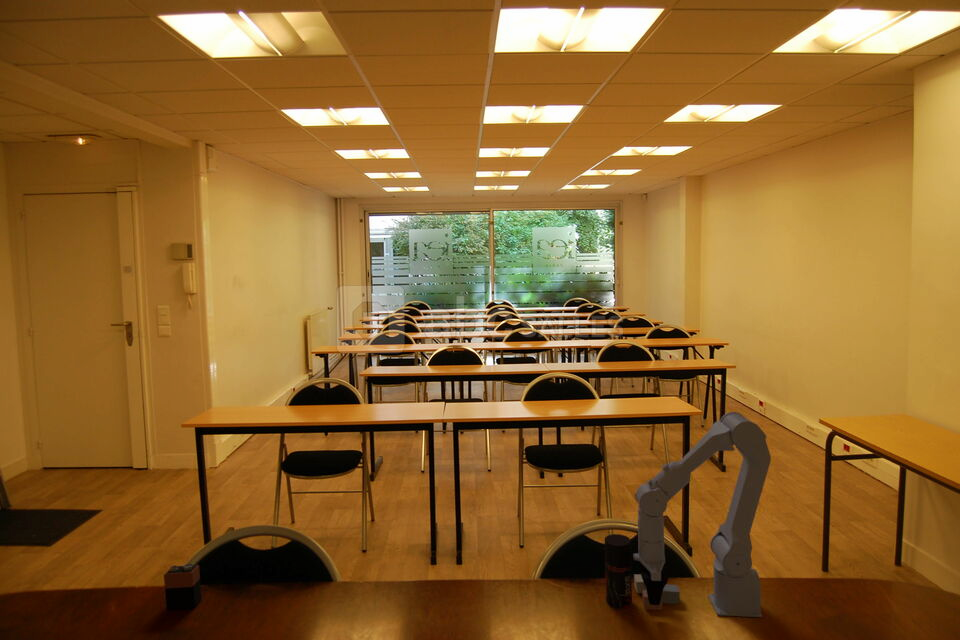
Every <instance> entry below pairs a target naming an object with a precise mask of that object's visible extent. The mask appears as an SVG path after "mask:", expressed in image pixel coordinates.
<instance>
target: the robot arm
mask: <svg viewBox="0 0 960 640" xmlns="http://www.w3.org/2000/svg"><path fill="white" fill-rule="evenodd" d="M767 443H768V442H767V434H766V433H765V432H764V431H763V430H762V429H761V428H760V426H759V425H758V424H756V423H755V422H753V421H751V420H750V419H748V418H746V417H745V416H744V415H743V414H742V413H740V412H736V411H731V412H727V413H725V414H723V416H721V418H720V420H719V419H717V421H715V422H713V424H712V425H711V427H710V428H709V430H708V431H707V433H705V434H704V435H703V437H702V438H701V439H699V441H698V442H697V443H696V444H694V446H693V447H692V448H691V449H690V450H689V451H688V452H687V453H685V455H684V456H683V457H682V458H681V459H680V460H679V461H670V462H669V463H668V464H667V463H664V464H663V465H662V466H661V470H660V471H659V472H658V473H657V474H655V476H654V477H653V478H652V479H650V478H649V479H648V480H647V481H646V483H642V484H641V485H639V486H638V488H637V489H636V492H635V493H634V498H635V501H636V502H637V504H638V505H637V506H638V507H637V508H638V509H637V514H638V515H637V544H638V545H637V546H638V547H637V548H638V549H637V550H638V552H637V553H633V554H632V558H633V560H634V561H637V562H638V563H639V566H640V568H641V573H640V574H641V577H642V579H643V582H644V584H645V586H646V589H647V595H648V600H649V603H650V605H659V604H660V601H661V596H662V592H663V589H664V587H665V585H668V582H669V577H668V575H667V574H666V575H664V574H662V570H663V567H664V565H665V564H666V556H665V520H664V513H666V510H667V506H668V503H669V501H670V500H671V499H672V498H674V496H676V495H677V494H678V493H679V492H681V490H682V489H684V488H685V487H686V486H687V485H688V484H689V483H690V482H691V475H692V473H693V472H695V470H697V469H698V468H700V466H702V465H703V464H704V463H706V461H708V459H710V458H712V457H713V456H714V455H715V454H717V452H726V451H727V452H733V451H735V448H736V449H737V451H738V452H739V454H740V455H741V456H742V461H741V464H740V465H741V466H740V469H739V472H738V477H737V479H736V483H735V486H734V489H733V494H732V498H731V501H730V505H729V508H728V512H727V515H726V519H725V522H724V523H722V524H719V526H718V529H717V532H716V533H715V534H714V535H713V536H712V538H711V539H710V550H711V551H712V553H713V554H714V555H715V557H714V558H715V559H714V562H713V593H709V594H708V598H709V600H710V603H711V604H712V607H713V610H714V611H715V613H716V615H717V616H723V617H724V616H726V617H727V616H728V617H744V618H745V617H748V618H762V617H763V615H762V600H761V599H762V592H761V591H762V588H761V580H760V576H759V574H758V571H757V570H756V569H755V568H752V567H753V561H752V550H753V545H752V539H751V531H752V527H753V524H754V520H755V516H756V514H757V513H756V512H757V511H758V510H757V509H758V506H759V503H760V499H761V496H762V492H763V488H764V485H765V482H766V479H767V475H768V471H769V468H770V465H771V459H772V457H771V454H770V453H771V452H770V449H769V446H768V444H767ZM734 446H735V448H734Z"/></svg>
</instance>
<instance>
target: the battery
mask: <svg viewBox="0 0 960 640" xmlns="http://www.w3.org/2000/svg"><path fill="white" fill-rule="evenodd" d="M200 575H201V573H200V566H199V565H198V564H193V563H186V564H184V565H175V564H174V565H172V566H170V568H169V569H168V570H167V571H166V572H165V573H164V574H163V579H164V580H163V581H164V594H165V607H166V608H165V609H166V611H174V610H175V611H177V610H179V611H180V610H191V609H195V608H196V607H197V606H198V604H199V603H200V602H201V600H202V598H203V597H202V587H201V576H200Z"/></svg>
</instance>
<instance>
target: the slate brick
mask: <svg viewBox="0 0 960 640" xmlns="http://www.w3.org/2000/svg"><path fill="white" fill-rule="evenodd" d="M680 596H681V595H680V589H679V587H678V584H666V585H665V587H664V589H663V592H662V604H674V605H675V604H676V605H678V604H679V605H680V604H681V603H680V602H681V601H680V599H681V598H680Z"/></svg>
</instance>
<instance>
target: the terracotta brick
mask: <svg viewBox="0 0 960 640" xmlns="http://www.w3.org/2000/svg"><path fill="white" fill-rule="evenodd" d="M641 595H642V605H643V609H644V610H652V611H653V610H655V611H656V610H657V611H663V603H662V596H661V601H660V604H659V605H650V603H649V600H648V595H647V590H642V593H641Z"/></svg>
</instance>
